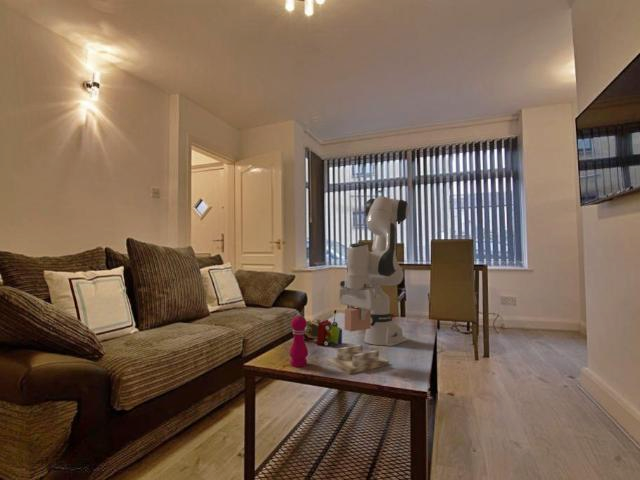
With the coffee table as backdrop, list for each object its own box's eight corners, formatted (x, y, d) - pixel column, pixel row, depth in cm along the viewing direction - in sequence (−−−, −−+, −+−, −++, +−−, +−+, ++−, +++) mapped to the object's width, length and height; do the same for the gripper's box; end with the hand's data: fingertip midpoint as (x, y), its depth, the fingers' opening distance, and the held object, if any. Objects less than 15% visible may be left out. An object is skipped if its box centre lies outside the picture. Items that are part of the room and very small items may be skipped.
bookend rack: (365, 355, 140) (365, 342, 140) (388, 364, 129) (388, 350, 129) (326, 363, 129) (326, 349, 130) (348, 374, 118) (348, 358, 118)
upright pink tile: (363, 326, 134) (364, 307, 134) (370, 328, 130) (370, 308, 131) (344, 329, 128) (344, 309, 129) (350, 331, 125) (351, 310, 125)
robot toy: (336, 350, 150) (299, 340, 159) (344, 345, 158) (309, 336, 167) (340, 313, 150) (302, 306, 159) (348, 310, 158) (312, 303, 167)
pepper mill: (305, 368, 124) (305, 314, 125) (287, 366, 125) (287, 314, 126) (309, 362, 131) (310, 311, 132) (292, 360, 132) (292, 310, 133)
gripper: (382, 285, 123) (382, 322, 123) (348, 281, 140) (348, 313, 140) (369, 286, 120) (369, 324, 119) (336, 282, 137) (336, 315, 136)
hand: (357, 318), depth 130 cm, fingers closed on upright pink tile, 4 cm apart
